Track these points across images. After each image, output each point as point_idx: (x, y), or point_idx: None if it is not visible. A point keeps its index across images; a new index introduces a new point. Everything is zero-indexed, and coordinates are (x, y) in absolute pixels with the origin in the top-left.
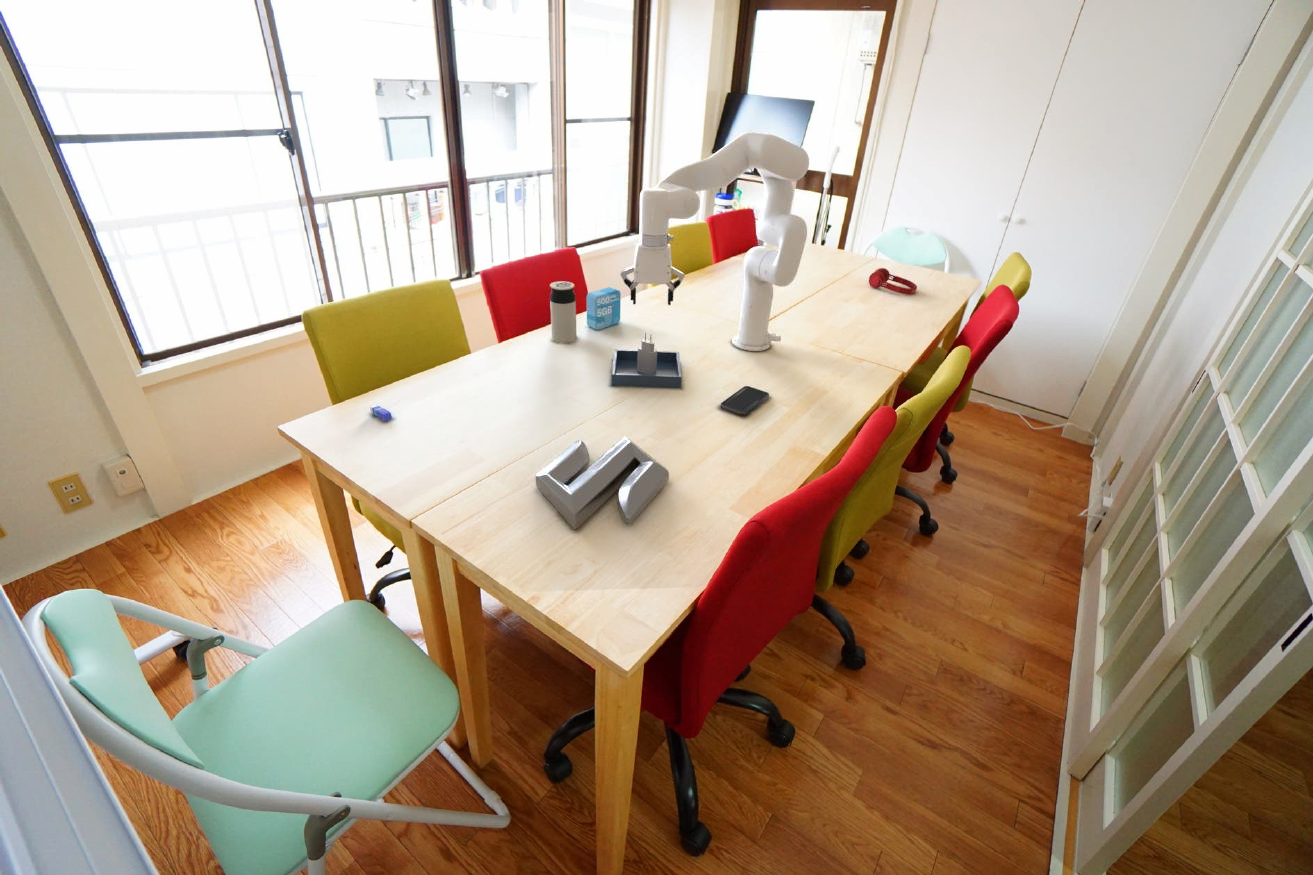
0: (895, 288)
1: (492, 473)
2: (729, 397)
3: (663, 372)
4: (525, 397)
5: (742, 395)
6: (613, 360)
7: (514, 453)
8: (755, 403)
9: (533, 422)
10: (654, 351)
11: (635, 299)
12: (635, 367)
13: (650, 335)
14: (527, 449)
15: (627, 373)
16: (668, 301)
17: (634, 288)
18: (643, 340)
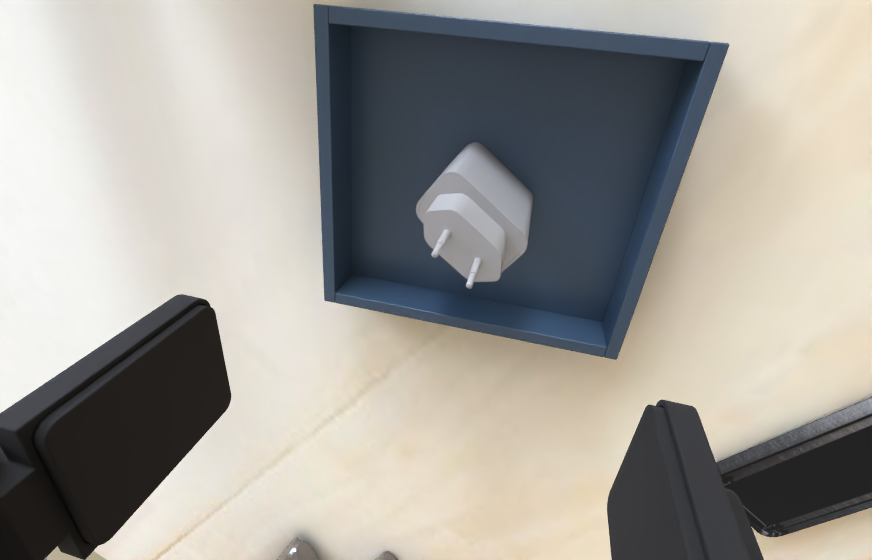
0: None
1: (181, 536)
2: (775, 454)
3: (570, 198)
4: (118, 314)
5: (848, 448)
6: (320, 167)
7: (191, 504)
8: (861, 501)
9: None
10: (506, 261)
11: (191, 444)
12: (441, 132)
13: (467, 283)
14: (208, 500)
15: (401, 196)
16: (617, 547)
17: (42, 550)
18: (434, 232)
